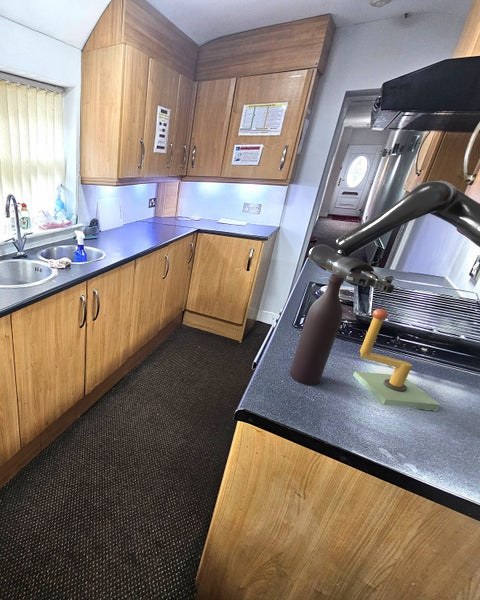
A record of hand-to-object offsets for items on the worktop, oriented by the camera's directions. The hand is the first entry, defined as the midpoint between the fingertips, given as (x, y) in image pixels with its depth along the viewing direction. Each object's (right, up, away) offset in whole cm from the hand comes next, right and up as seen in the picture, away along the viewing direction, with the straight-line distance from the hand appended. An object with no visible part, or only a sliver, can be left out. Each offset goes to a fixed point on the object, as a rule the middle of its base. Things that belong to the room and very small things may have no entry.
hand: (390, 289), depth 90 cm
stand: (-4, -27, -5) cm, 28 cm away
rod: (-8, -24, -4) cm, 25 cm away
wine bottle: (-24, -25, 0) cm, 34 cm away
